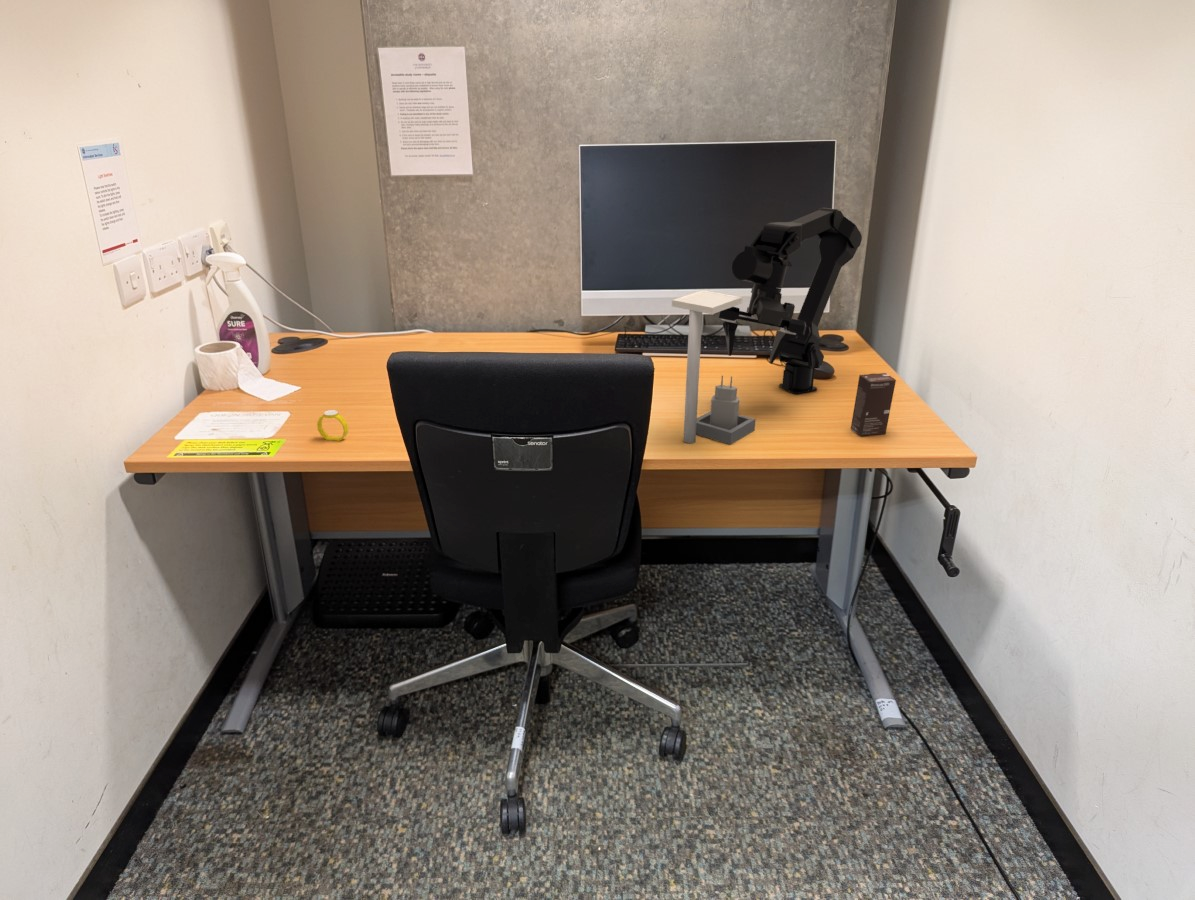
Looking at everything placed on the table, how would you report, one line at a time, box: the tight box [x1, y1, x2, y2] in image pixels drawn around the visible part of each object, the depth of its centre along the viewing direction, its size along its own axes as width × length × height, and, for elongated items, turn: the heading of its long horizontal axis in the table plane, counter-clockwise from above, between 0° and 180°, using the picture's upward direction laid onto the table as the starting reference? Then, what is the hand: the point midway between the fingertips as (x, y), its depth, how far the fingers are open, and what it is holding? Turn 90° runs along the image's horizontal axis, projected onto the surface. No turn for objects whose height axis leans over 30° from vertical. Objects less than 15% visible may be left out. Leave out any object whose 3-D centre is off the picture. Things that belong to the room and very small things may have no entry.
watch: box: [316, 409, 349, 442], centre depth 161 cm, size 6×3×6 cm, turn 80°
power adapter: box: [710, 375, 740, 430], centre depth 164 cm, size 3×5×12 cm, turn 72°
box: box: [850, 372, 897, 437], centre depth 163 cm, size 6×4×12 cm
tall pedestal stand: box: [671, 289, 757, 446], centre depth 159 cm, size 15×12×28 cm
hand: (750, 359), depth 171 cm, fingers open, 9 cm apart
